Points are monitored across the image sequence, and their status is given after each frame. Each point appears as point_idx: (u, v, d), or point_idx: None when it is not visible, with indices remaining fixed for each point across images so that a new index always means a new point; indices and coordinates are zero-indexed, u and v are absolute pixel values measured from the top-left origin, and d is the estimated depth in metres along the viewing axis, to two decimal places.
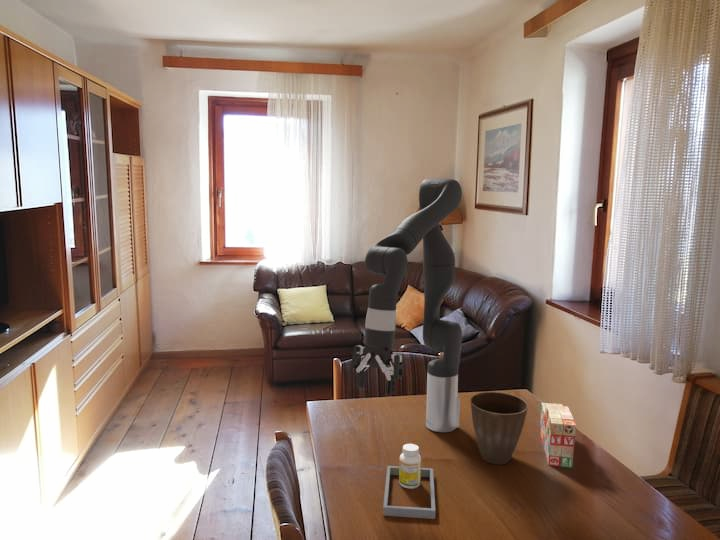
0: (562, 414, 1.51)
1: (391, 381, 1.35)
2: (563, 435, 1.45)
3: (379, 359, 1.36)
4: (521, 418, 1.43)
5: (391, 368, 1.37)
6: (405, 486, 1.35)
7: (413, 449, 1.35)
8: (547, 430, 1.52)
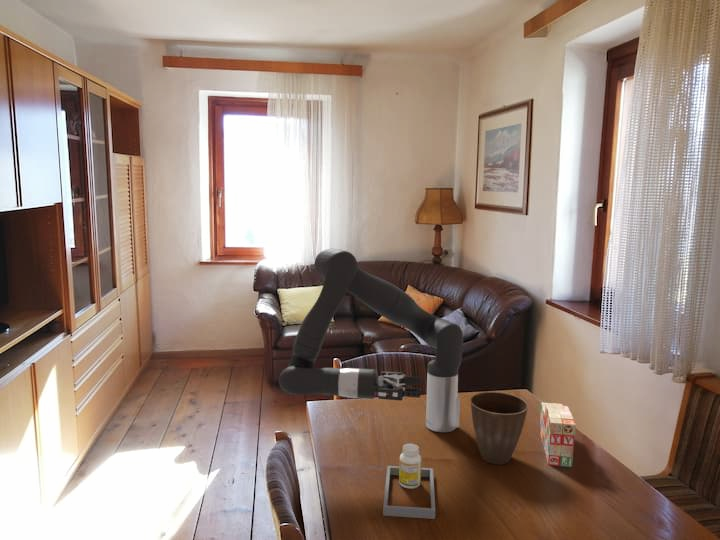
0: (562, 414, 1.51)
1: (405, 395, 1.37)
2: (563, 434, 1.46)
3: None
4: (521, 418, 1.43)
5: (394, 388, 1.39)
6: (405, 486, 1.35)
7: (413, 449, 1.35)
8: (547, 430, 1.52)
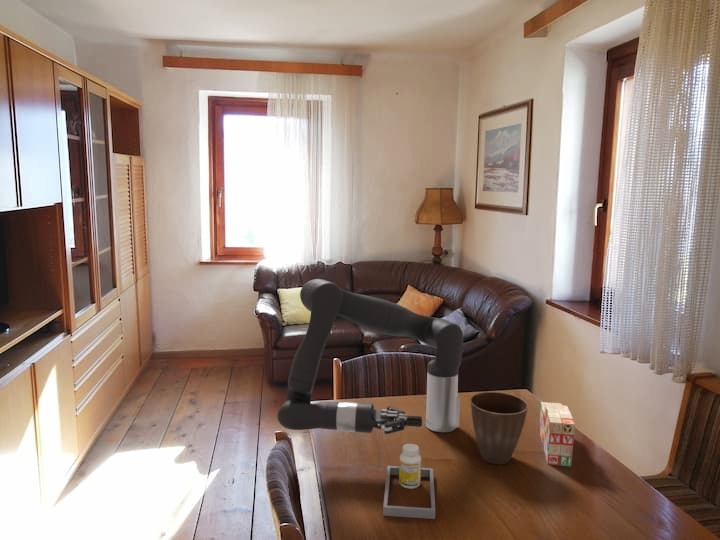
0: (561, 413, 1.51)
1: None
2: (562, 434, 1.46)
3: None
4: (521, 418, 1.43)
5: (397, 419, 1.42)
6: (405, 486, 1.35)
7: (413, 449, 1.35)
8: (546, 429, 1.52)
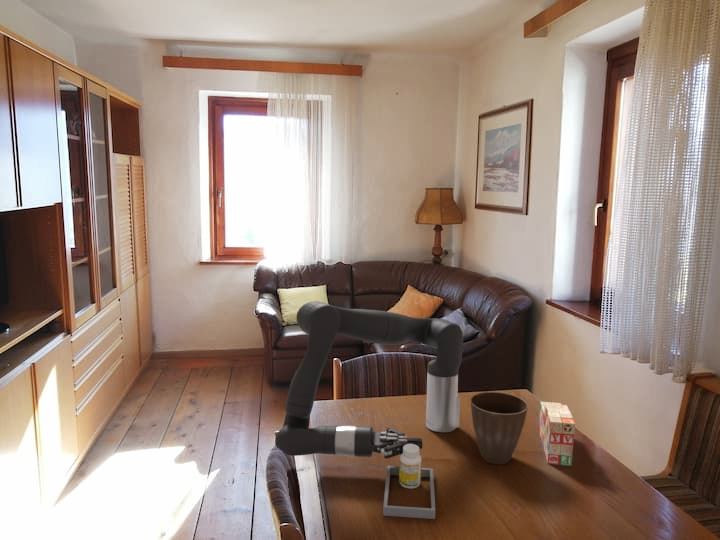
0: (561, 413, 1.51)
1: None
2: (563, 433, 1.46)
3: None
4: (521, 418, 1.43)
5: (396, 442, 1.39)
6: (405, 486, 1.35)
7: (413, 451, 1.34)
8: (546, 429, 1.53)
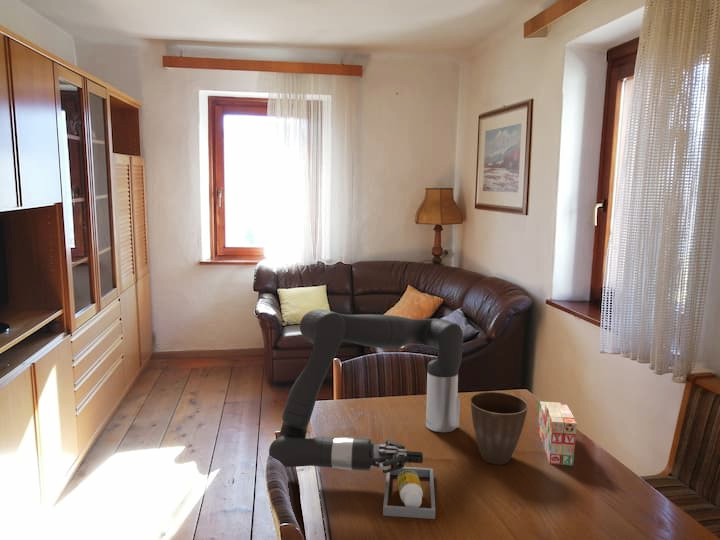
0: (562, 412, 1.52)
1: (407, 462, 1.34)
2: (564, 433, 1.46)
3: None
4: (521, 418, 1.43)
5: (396, 456, 1.33)
6: None
7: (416, 506, 1.25)
8: (547, 429, 1.53)
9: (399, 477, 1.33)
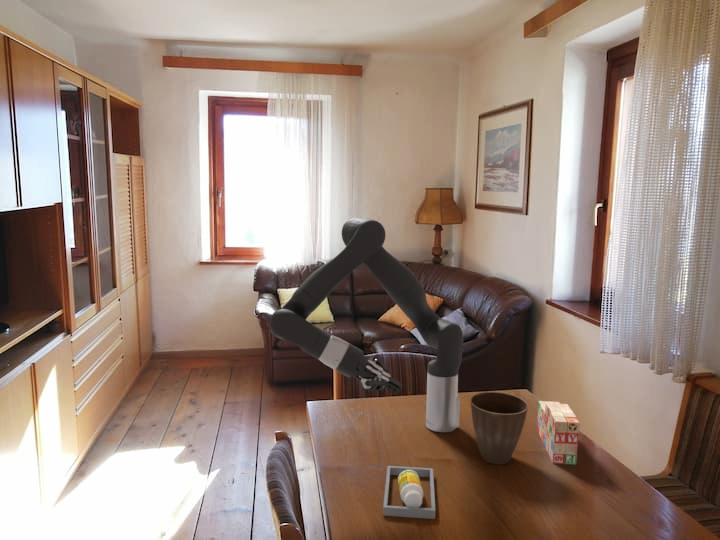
0: (564, 412, 1.52)
1: (386, 386, 1.39)
2: (567, 433, 1.47)
3: None
4: (521, 418, 1.43)
5: (378, 378, 1.38)
6: None
7: (417, 506, 1.25)
8: (549, 428, 1.53)
9: (400, 476, 1.33)
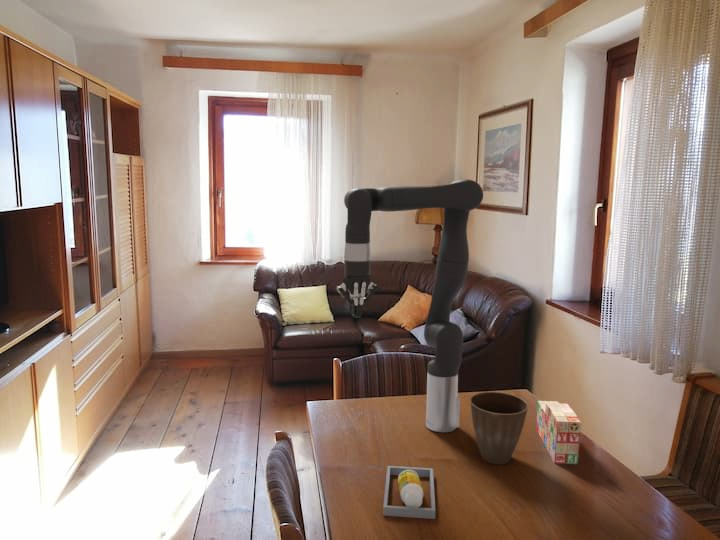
0: (565, 412, 1.52)
1: None
2: (569, 432, 1.47)
3: None
4: (521, 418, 1.43)
5: (353, 296, 1.60)
6: None
7: (417, 506, 1.25)
8: (550, 428, 1.53)
9: (400, 476, 1.33)
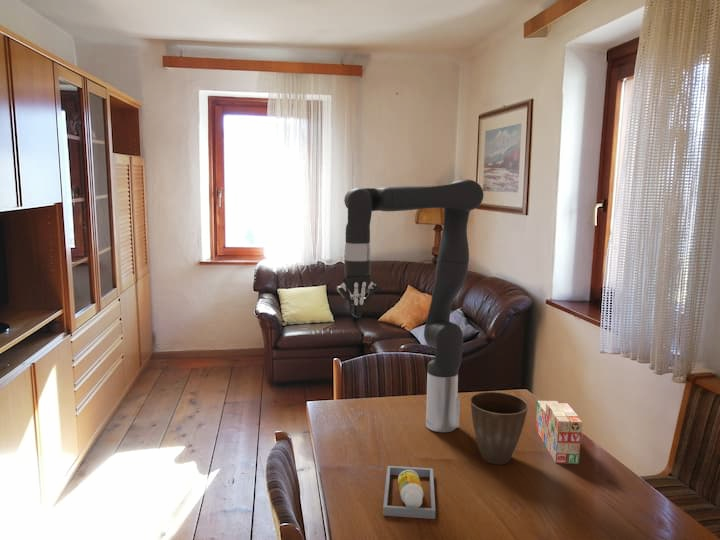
0: (565, 411, 1.52)
1: None
2: (570, 432, 1.47)
3: None
4: (521, 418, 1.43)
5: (353, 296, 1.60)
6: None
7: (417, 506, 1.25)
8: (551, 428, 1.53)
9: (400, 476, 1.33)
